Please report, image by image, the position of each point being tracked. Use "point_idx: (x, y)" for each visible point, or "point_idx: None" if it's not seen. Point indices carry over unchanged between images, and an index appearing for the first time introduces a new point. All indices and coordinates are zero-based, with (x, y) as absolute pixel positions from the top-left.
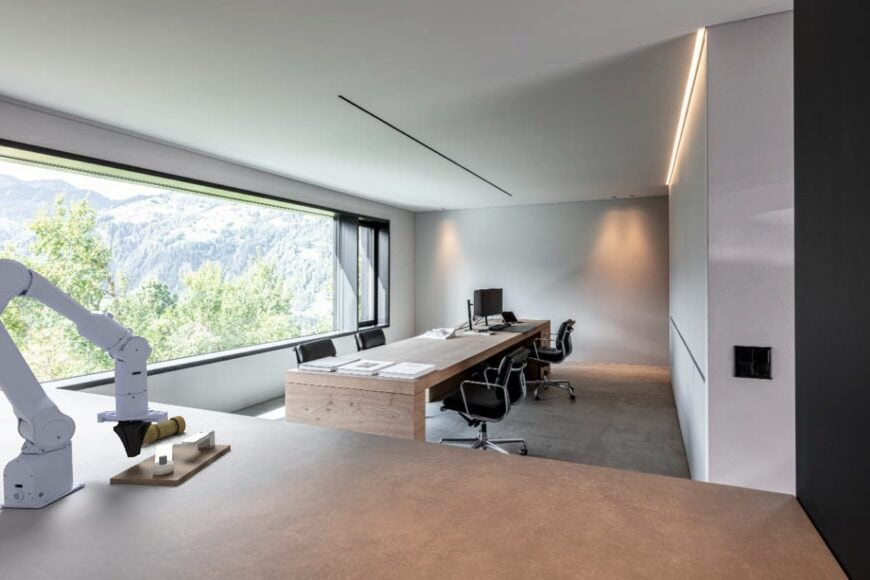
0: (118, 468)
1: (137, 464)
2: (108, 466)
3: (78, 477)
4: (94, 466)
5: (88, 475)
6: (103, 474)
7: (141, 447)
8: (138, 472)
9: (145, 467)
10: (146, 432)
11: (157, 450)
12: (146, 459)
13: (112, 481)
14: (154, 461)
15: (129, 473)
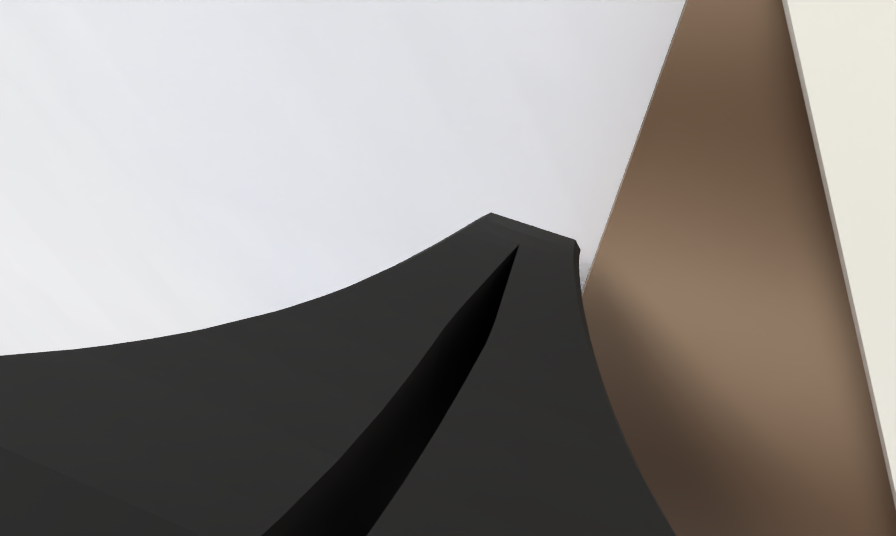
0: (375, 175)
1: (605, 299)
2: (228, 82)
3: (164, 294)
4: (86, 46)
5: (211, 276)
6: (326, 294)
7: (579, 286)
8: (713, 517)
9: (749, 423)
10: (640, 477)
11: (866, 246)
12: (658, 147)
13: None
14: (812, 259)
15: None
